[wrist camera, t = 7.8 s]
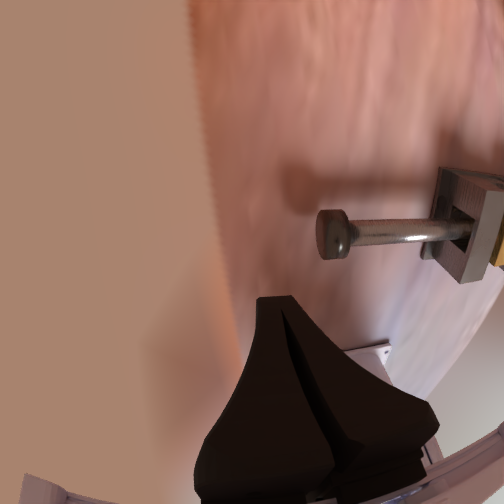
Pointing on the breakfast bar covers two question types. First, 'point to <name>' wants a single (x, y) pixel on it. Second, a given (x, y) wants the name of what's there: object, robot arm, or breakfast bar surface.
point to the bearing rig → (467, 206)
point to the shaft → (382, 232)
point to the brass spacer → (498, 247)
